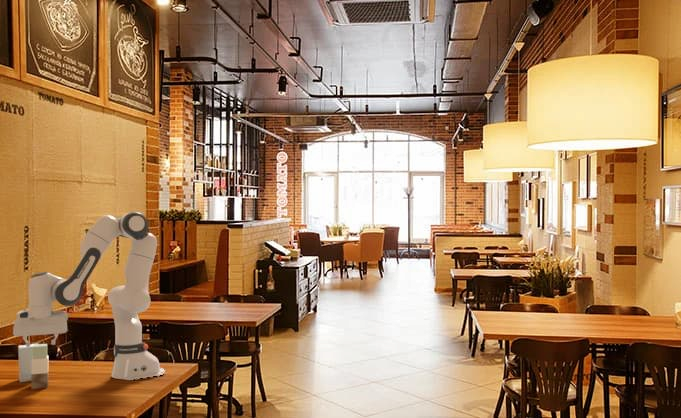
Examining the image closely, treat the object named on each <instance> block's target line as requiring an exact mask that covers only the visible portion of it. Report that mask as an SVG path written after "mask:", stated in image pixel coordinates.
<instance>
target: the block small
mask: <svg viewBox="0 0 681 418" xmlns="http://www.w3.org/2000/svg"><path fill="white" fill-rule="evenodd" d="M34 344H35V345H34V346H33V359H43V358H47V355H48V343H38V344H37V343H34Z"/></svg>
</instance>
